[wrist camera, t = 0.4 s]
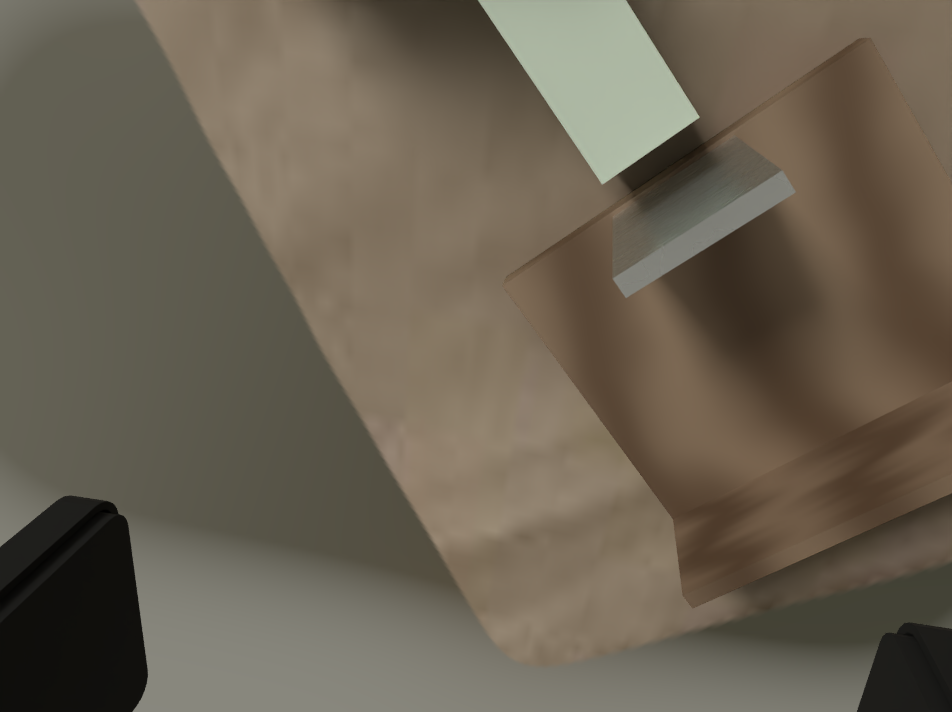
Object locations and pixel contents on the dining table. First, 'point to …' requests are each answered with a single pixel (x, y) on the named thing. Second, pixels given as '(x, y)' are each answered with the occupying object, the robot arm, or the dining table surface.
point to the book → (596, 76)
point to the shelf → (770, 325)
